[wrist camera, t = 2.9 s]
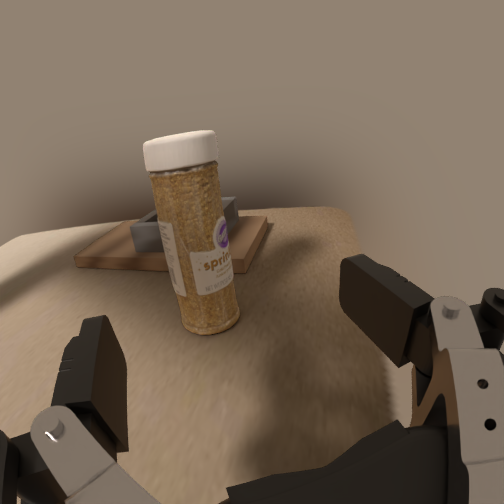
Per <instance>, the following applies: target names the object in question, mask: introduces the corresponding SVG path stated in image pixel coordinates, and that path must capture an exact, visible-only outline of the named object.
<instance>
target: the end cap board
mask: <svg viewBox="0 0 504 504" xmlns="http://www.w3.org/2000/svg"><path fill="white" fill-rule="evenodd" d="M221 199H222V207H223V212H224V217H225V221H226V227H227V234H228V241H229V248H230V255H231V261H232V268H233V273H246V271H247V269H248V267H249V265H250V263H251V261H252V259H253V257H254V255H255V253H256V250H257V248H258V246H259V244H260V242H261V240H262V238H263V236H264V234H265V232H266V230H267V228H268V224H267V216H243V217H238V209H237V200H236V197H222V198H221ZM157 218H158V215H157V210H156V209H155V210H154V211H152V212H151V213H149V214H148V215H146V216H145V217H143V218H142V219H140V220H139V221H127V222H123V223H121V224H120V225H118V226H117V227H115V228H114V229H112V230H111V231H109V232H108V233H106V234H105V235H103V236H102V237H100V238H99V239H97V240H96V241H95V242H93V243H92V244H90V245H89V246H87V247H86V248H85V249H83V250H82V251H80V252H79V253H78V254H76V255H75V256H74V259H75V262H76V265H77V267H85V268H105V269H127V270H151V271H169V269H168V265H167V261H166V256H165V252H164V247H163V243H162V238H161V234H160V229H159V225H158V219H157Z"/></svg>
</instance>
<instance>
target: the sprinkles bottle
mask: <svg viewBox="0 0 504 504" xmlns="http://www.w3.org/2000/svg"><path fill="white" fill-rule="evenodd" d="M143 152H144V159H145V166H146V170H147V171H148V172H150V174H149V177H150V179H151V182H152V189H153V194H154V199H155V205H156V210H157V215H158V218H157V219H158V225H159V229H160V234H161V238H162V243H163V247H164V252H165V256H166V261H167V265H168V269H169V273H170V277H171V281H172V285H173V288H174V290H175V292H176V295H177V299H178V303H179V307H180V311H181V315H182V317H181V321H182V324H183V325H184V327H185V328H186V329H187V330H189V331H190V332H193V333H196V334H200V335H206V334H207V335H211V334H216V333H219V332H222V331H224V330H227V329H228V328H230V327H231V326H232V325H233V324H234V323H235V322H236V321H237V320H238V318H239V316H240V309H239V306H238V304H237V300H236V295H235V288H234V282H233V268H232V261H231V255H230V248H229V241H228V234H227V227H226V221H225V217H224V212H223V207H222V199H221V192H220V184H219V179H218V171H217V166H218V163H217V162H216V161H215V160H216V159H217V158H218V157H219V154H218V146H217V138H216V134H215V132H214V131H212V130H207V131H203V130H201V131H193V132H187V133H181V134H176V135H170V136H165V137H160V138H155V139H153V140H150V141H146V142H145V143H144V144H143Z"/></svg>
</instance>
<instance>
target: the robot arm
mask: <svg viewBox="0 0 504 504" xmlns="http://www.w3.org/2000/svg"><path fill="white" fill-rule="evenodd" d="M339 301H340V305H341V308H342V310H343V311H344V313H345V314H346V315H347V316H348V317H349V318H350V319H351V320H352V321H353V322H354V323H355V324H356V325H357V326H358V327H359V328H360V329H361V330H362V331H363V332H364V333H365V334H366V335H367V336H368V337H369V338H370V339H371V340H372V341H373V342H374V343H375V344H376V345H377V346H378V347H379V348H380V349H381V350H382V351H383V352H384V354H385V355H386V356H387V357H388V358H389V359H390V360H391V361H392V362H393V363H394V364H395V365H396V366H397V367H398V368H399V367H401V366H403V365H405V364H407V363H409V362H412V363H413V364H414V365H413V368H412V420H411V424H410V427H408V428H404V427H403V426H402V424H401V423H400V422H399V421H398V420H396V421H394V422H392V423H390V424H389V425H387V426H385V427H383V428H381V429H379V430H377V431H376V432H374V433H372V434H370V435H368V436H366V437H364V438H362V439H361V440H360V441H358V442H357V443H356V444H355V445H353V446H352V447H351V448H350V449H348V450H347V451H346V452H345V453H343V454H342V455H341V456H340V457H338V458H337V459H336V460H334V461H333V462H332V463H330V464H329V465H327V466H325V467H322V468H318V469H312V470H305V471H299V472H291V473H283V474H274V475H270V476H267V477H264V478H261V479H257V480H254V481H250V482H247V483H243V484H239V485H235V486H231V487H227V488H226V490H227V493H228V496H229V498H228V499H226V500H224V501H222V502H220V503H219V504H504V355H503V354H502V353H501V352H500V351H499V350H500V348H501V345H502V343H503V341H504V290H503V289H500V288H490V289H487V290H486V291H485V292H484V294H483V298H482V301H481V304H476V305H471V306H468V305H467V304H466V303H465V302H464V301H462V300H460V299H458V298H455V297H449V296H443V297H438V298H436V299H434V298H433V297H432V296H430V295H429V294H427V293H426V292H424V291H423V290H422V289H420V288H419V287H417V286H416V285H415V284H413V283H412V282H410V281H409V282H408V280H407V279H406V278H404V277H403V276H400V274H398V273H397V272H396V271H394V270H393V269H391V268H389V267H386V266H383V265H380V264H378V263H376V262H374V261H373V260H372V259H370V258H369V257H367V256H366V255H364V254H359V255H355V256H352V257H348V258H344V259H343V260H342V261H341V265H340V288H339ZM128 451H129V447H128V427H127V366H126V360H125V357H124V354H123V351H122V349H121V347H120V344H119V342H118V340H117V338H116V335H115V333H114V331H113V328H112V326H111V323H110V321H109V319H108V317H107V316H106V315H102V316H97V317H92V318H87V319H84V320H83V322H82V326H81V330H80V333H79V336H76V337H73V338H72V339H71V340H70V342H69V343H68V344H67V346H66V347H65V349H64V353H63V356H62V362H61V364H60V368H59V372H58V376H57V380H56V384H55V389H54V393H53V398H52V403H51V407H49V408H46V409H45V410H43V411H42V412H40V413H39V414H38V415H37V416H36V418H35V419H34V421H33V423H32V425H31V432H28V433H25V434H23V435H20V436H17V437H14V438H11V439H9V438H8V437H7V436H6V435H5V433H4V432H3V431H1V430H0V504H17V496H18V497H19V498H20V499H21V504H161V503H160V502H158V501H157V500H156V499H155V498H154V497H153V496H151V495H150V494H149V493H148V492H147V491H146V490H145V489H144V488H142V487H141V486H140V485H139V484H138V483H137V482H136V481H135V480H134V479H133V478H132V477H131V476H130V475H129V474H128V473H127V472H126V471H125V470H124V469H123V468H122V467H121V466H120V465H119V464H118V463H117V453H119V452H128Z"/></svg>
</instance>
